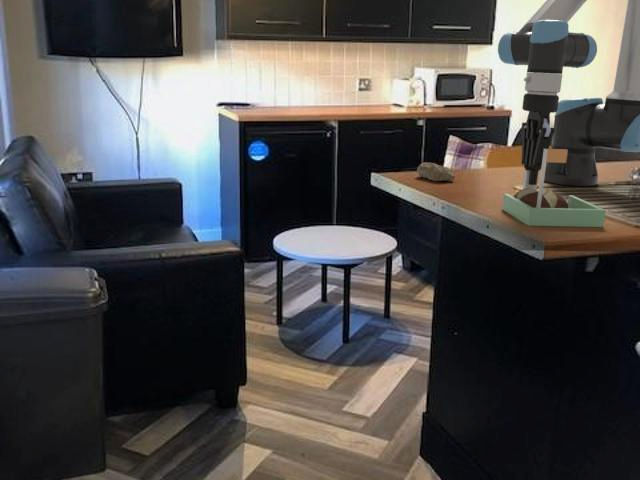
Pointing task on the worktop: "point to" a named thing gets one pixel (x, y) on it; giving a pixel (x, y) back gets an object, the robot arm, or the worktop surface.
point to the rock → (435, 172)
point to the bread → (548, 198)
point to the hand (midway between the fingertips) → (528, 197)
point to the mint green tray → (574, 215)
